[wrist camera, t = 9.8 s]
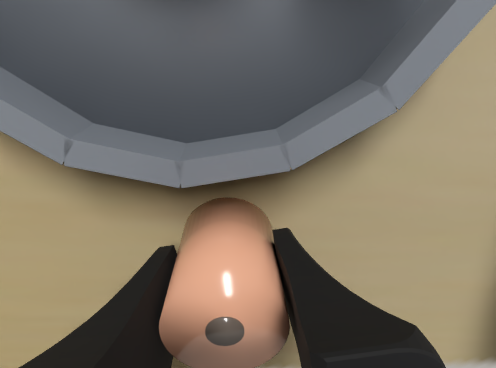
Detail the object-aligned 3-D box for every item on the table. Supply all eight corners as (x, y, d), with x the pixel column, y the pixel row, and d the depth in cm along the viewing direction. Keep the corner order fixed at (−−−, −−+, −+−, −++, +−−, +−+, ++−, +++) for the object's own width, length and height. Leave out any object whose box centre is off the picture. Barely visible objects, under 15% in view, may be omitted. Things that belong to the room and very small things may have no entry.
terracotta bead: (266, 190, 13) (282, 272, 9) (277, 265, 15) (295, 366, 11) (173, 205, 14) (141, 293, 9) (194, 277, 15) (177, 382, 11)
